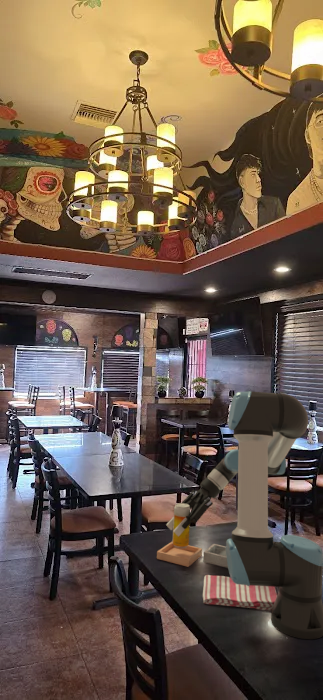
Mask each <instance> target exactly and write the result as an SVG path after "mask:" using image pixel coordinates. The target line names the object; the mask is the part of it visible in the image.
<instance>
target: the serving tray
mask: <svg viewBox="0 0 323 700" xmlns="http://www.w3.org/2000/svg"><path fill="white" fill-rule="evenodd" d="M202 556H203V548H202V547H197V546H193V545H190V544H189V545H188V546H187V547H186V548H182V549H181V548H176V547H174V545H173V544H172V541H171V542H169V543H168V544H166V545H164V546H163V547H162V548H160V549H158V550H157V551H156V559H157V560H161V561H164V562H168V563H173V564H176V565H180V566H184V567H188V568H189V567H190V566H191V565H193V564H194V563H195V562H196V561H197V560H198V559H200V557H202Z"/></svg>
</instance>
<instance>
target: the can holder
mask: <svg viewBox="0 0 323 700" xmlns="http://www.w3.org/2000/svg"><path fill="white" fill-rule="evenodd" d="M202 556H203V558H202V562H203V563H206V564H210V565H214V566H218V567H223V568H226V569H228V564H227V556H226V545H220V544H217V543H212V544H211V545H210V546H209V547H208V548H206V550H204V551H203V555H202Z"/></svg>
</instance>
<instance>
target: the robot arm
mask: <svg viewBox="0 0 323 700" xmlns="http://www.w3.org/2000/svg"><path fill="white" fill-rule="evenodd" d="M308 415H309V414H308V412H307V410H306V408H305V407H304V405H303V403H302V402H301V401H299V400H298V399H297V398H296V397H294V396H292V395H289V394H287V393H281V392H279V393H275V392H274V393H273V392H264V391H263V392H262V391H251V390H250V391H238V392H236V393H234V395H233V397H232V400H231V403H230V407H229V413H228V429H229V430H231V431H233V437H234V438H235V439H236V441H238V449H231V450H230V451H228V452H227V453H226V455H225V456H224V457H223V458H222V459H221V461H220V462H219V463H218V464H217V465H216V466H215V467H213V469H212V470H211V472H209V474H208V475H207V477H205V478H203V479H204V480H202V481H201V482H200V489H198V490H195V489H192V490H191V491H190V493H189V494H188V495H187V496H186V498H185V499H184V500H182V502H181V503H185V504H188V505H190V514H189V515H188V516H186V518H184V519H183V521H182V522H181V523H180V524H179V525H178V526H177V527H176V528H175V530H174V531H173V521H174V516H172V518H171V519H170V520H169V521H168V522H167V523H166V524H165V525H166V526H167V528H168V529H169V530H170V531H172V533H173V532H174V533H175V534H176V535H177V536H178V537H179V536H180V534H181V533H182V532H183V531H184V530H185V529H186V528H187V527H188V526H189V524H190V525H191V524H193V523H194V524H197V523H198V521H199V520H200V519H201V518H202V516H203V515H204V514H205V513H206V512H207V510H208V509H209V508H210V507H211V506H212V505H214V504H213V502H212V499H216V498H217V497H218V495H219V494H220V493H221V491H222V490H224V488H226V486H227V485H228V484H229V483H230V482H231V481H232V480H233V478H234V477H235V476H236V475H237V478H238V479H237V526H236V528H234V529H233V530H232V531H231V538H228V539H227V540H226V541H225V546H226V556H227V564H228V568H227V569H228V573H229V577H230V578H231V579H232V581H233V582H234V583H236V584H241V585H247V586H250V585H254V586H272V587H275V588H278V592H277V597H276V600H275V603H274V605H273V608H272V610H270V621H271V624H272V625H273V627H275V629H277V630H278V631H279V632H281V633H283V634H285V635H287V636H290V637H292V638H295V639H296V638H297V639H303V640H315V639H319V638H323V601H322V600H323V599H322V598H323V597H322V595H323V548H322V547H321V546H320V545H319V544H318V543H316V542H315V541H313V540H311V539H309V538H307V537H304V536H299V535H294V534H286V535H285V534H283V535H282V536H281V537H280V539H279V541H274V534H273V533H272V532H271V531H270V529H269V509H268V508H269V501H268V500H269V484H268V483H269V480H268V479H269V475H274V476H275V475H276V476H277V475H284V474H285V472H286V468H287V460H286V457H287V455H288V454H289V451H290V450H291V449H292V446H293V445H294V444H295V443H296V440H297V439H300V438H301V437H303V436H304V434H305V433H306V430H307V429H308V426H309V416H308Z"/></svg>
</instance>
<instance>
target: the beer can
mask: <svg viewBox="0 0 323 700" xmlns="http://www.w3.org/2000/svg"><path fill="white" fill-rule="evenodd" d="M190 512H191V509H190V505H188V504H185V503H182V502H179V503H175V505H174V508H173V517H174V521H173V529H172V540H171V542H172V544H173V545H174V547H176V548H181V549H182V548H186V547H187V546H188V545H189V546H190V544H189V543H190V525H191V523H190V524H189V526H188V527H187V528H186V529H185V530H184V531H183V532H182V533H181V534H180V536H179V537H178V536H177V535H176V534H175V533H174V532H173V531H174V530H175V528H176V527H177V526H178V525H179V524H180V523H181V522H182V521H183V519H184V518H186V516H188V515H189V514H190Z"/></svg>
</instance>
